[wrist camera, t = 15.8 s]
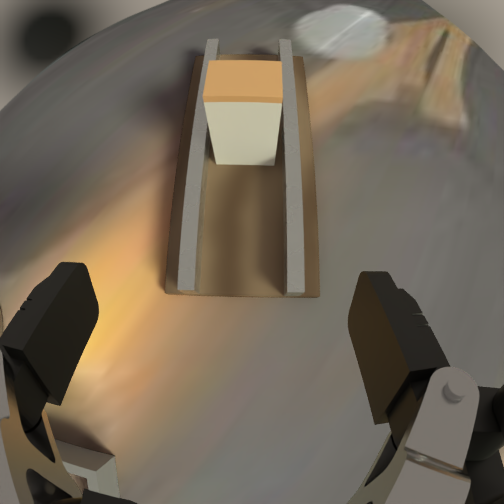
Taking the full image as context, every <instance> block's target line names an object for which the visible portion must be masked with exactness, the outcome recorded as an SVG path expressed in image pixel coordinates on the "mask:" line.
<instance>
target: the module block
mask: <svg viewBox="0 0 504 504" xmlns="http://www.w3.org/2000/svg"><path fill="white" fill-rule="evenodd" d="M203 101H204V106H205V111H206V116H207V121H208V126H209V131H210V136H211V141H212V146H213V151H214V156H215V161H216V164H228V165H267V166H274V164H275V156H276V148H277V141H278V133H279V125H280V117H281V109H282V101H283V84H282V61H261V60H212V61H209V64H208V69H207V74H206V80H205V86H204V91H203Z"/></svg>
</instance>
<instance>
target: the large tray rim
mask: <svg viewBox="0 0 504 504" xmlns="http://www.w3.org/2000/svg"><path fill="white" fill-rule="evenodd" d="M54 440H55V443H56V445H57V448H58V451H59V454H60V457H61V460H62V462H63V465H64V467H65V469H66V470H67V472H68V473H71V474H74V475H77V476H81V477H84V478H87V483H88V489H89V490H91V491H94V492H98V493H102V494H105V495H109V496H113V497H117V498H120V494H119V487H118V479H117V471H116V463H115V456H113V455H109V454H105V453H101V452H97V451H93V450H89V449H86V448H82V447H79V446H75V445H72V444H69V443H65V442H62V441H59V440H56V439H54Z"/></svg>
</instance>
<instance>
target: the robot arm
mask: <svg viewBox="0 0 504 504" xmlns="http://www.w3.org/2000/svg"><path fill="white" fill-rule="evenodd" d="M98 315H99V306H98V301H97V298H96V295H95V292H94V289H93V286H92V282H91V279H90V276H89V272H88V269H87V267H86V265H85V264H84V263H75V262H61V263H59V264H58V265H57V267H56V268H55V269H54V271H53V272H52V273H51V275H50V276H49V277H47V278H46V279H45V280H43V281H42V282H41V283H39V284H38V285H37V286H36V287H35V288H34V289H33V290H32V292H31V293H30V295H29V296H28V297H27V301H24V303H23V304H22V306H21V307H20V310H18V311H17V313H16V314H15V316H14V317H13V319H12V320H11V322H10V323H9V325H8V326H7V328H6V329H5V331H4V332H3V320H2V313H1V309H0V504H137V503H135V502H133V501H130V500H126V499H121V498H117V497H113V496H109V495H105V494H102V493H98V492H94V491H91V490H88V489H84V492H83V495H82V493H81V491H80V490H79V488H78V486H77V485H76V483H75V481H74V480H73V479H72V477H71V476H70V475H69V474H68V472H67V470H66V469H65V467H64V465H63V462H62V460H61V457H60V454H59V451H58V448H57V445H56V443H55V440H54V436H53V433H52V430H51V427H50V424H49V420H48V417H47V414H46V412H45V410H44V406H45V404H46V402H48V403H51V404H55V405H59V406H61V403H62V401H63V398H64V396H65V393H66V391H67V388H68V386H69V383H70V381H71V378H72V376H73V374H74V371H75V369H76V367H77V364H78V362H79V360H80V358H81V355H82V353H83V351H84V349H85V346H86V344H87V342H88V340H89V338H90V336H91V333H92V331H93V329H94V327H95V325H96V323H97V320H98ZM348 329H349V334H350V337H351V340H352V344H353V347H354V350H355V354H356V357H357V361H358V364H359V368H360V371H361V375H362V378H363V382H364V386H365V389H366V393H367V397H368V400H369V404H370V408H371V412H372V416H373V420H374V424H375V425H376V424H383V423H389V425H390V428H391V431H390V433H389V434H388V436H387V438H386V440H385V442H384V444H383V446H382V448H381V450H380V451H379V453H378V455H377V457H376V459H375V461H374V463H373V465H372V466H371V468H370V470H369V472H368V474H367V475H366V477H365V479H364V480H363V482H362V484H361V486H360V487H359V489H358V490H357V491H356V493H355V494H354V495H353V496H352V498H351V499H350V500H349V501H348V502H347V504H504V467H503V463H502V460H501V456H500V453H499V449H500V448H501V447H503V446H504V385H503V386H502V387H501V388H490V387H480V386H477V384H476V382H475V381H474V379H473V378H472V377H471V376H470V375H469V374H468V373H466V372H465V371H463V370H461V369H459V368H456V367H450V365H449V363H448V361H447V359H446V357H445V355H444V353H443V351H442V349H441V347H440V345H439V343H438V341H437V339H436V337H435V335H434V333H433V331H432V329H431V328H430V326H428V322H427V320H426V318H425V317H424V316H423V315H422V311H421V309H420V308H419V306H418V304H417V302H416V300H415V299H414V298H413V297H411V296H410V295H409V294H408V293H407V292H406V291H405V290H404V289H398V288H397V287H396V285H395V283H394V281H393V279H392V278H391V276H390V274H389V273H388V272H383V271H363V272H361V273H360V275H359V278H358V282H357V285H356V289H355V293H354V296H353V300H352V303H351V307H350V310H349V315H348ZM2 333H3V334H2Z"/></svg>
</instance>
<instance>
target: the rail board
mask: <svg viewBox="0 0 504 504" xmlns="http://www.w3.org/2000/svg"><path fill="white" fill-rule="evenodd" d="M212 60H261V61H282V84H283V101H282V109H281V117H280V125H279V133H278V141H277V148H276V156H275V164H274V166H267V165H228V164H216V161H215V156H214V151H213V146H212V141H211V136H210V131H209V126H208V121H207V116H206V111H205V106H204V101H203V91H204V86H205V80H206V74H207V69H208V64H209V61H212ZM165 293H166V294H170V295H195V296H227V297H291V298H317V297H319V296H320V279H319V244H318V220H317V201H316V185H315V170H314V157H313V145H312V134H311V123H310V113H309V104H308V95H307V86H306V78H305V70H304V62H303V57H299V56H292V49H291V40H286V39H279V48H278V55H254V54H234V55H220V46H219V39H208V40H207V45H206V50H205V55H204V56H196V58H195V62H194V67H193V72H192V77H191V82H190V88H189V93H188V99H187V104H186V110H185V116H184V122H183V128H182V134H181V141H180V148H179V155H178V162H177V169H176V177H175V185H174V193H173V202H172V211H171V221H170V231H169V242H168V255H167V268H166V283H165Z"/></svg>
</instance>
